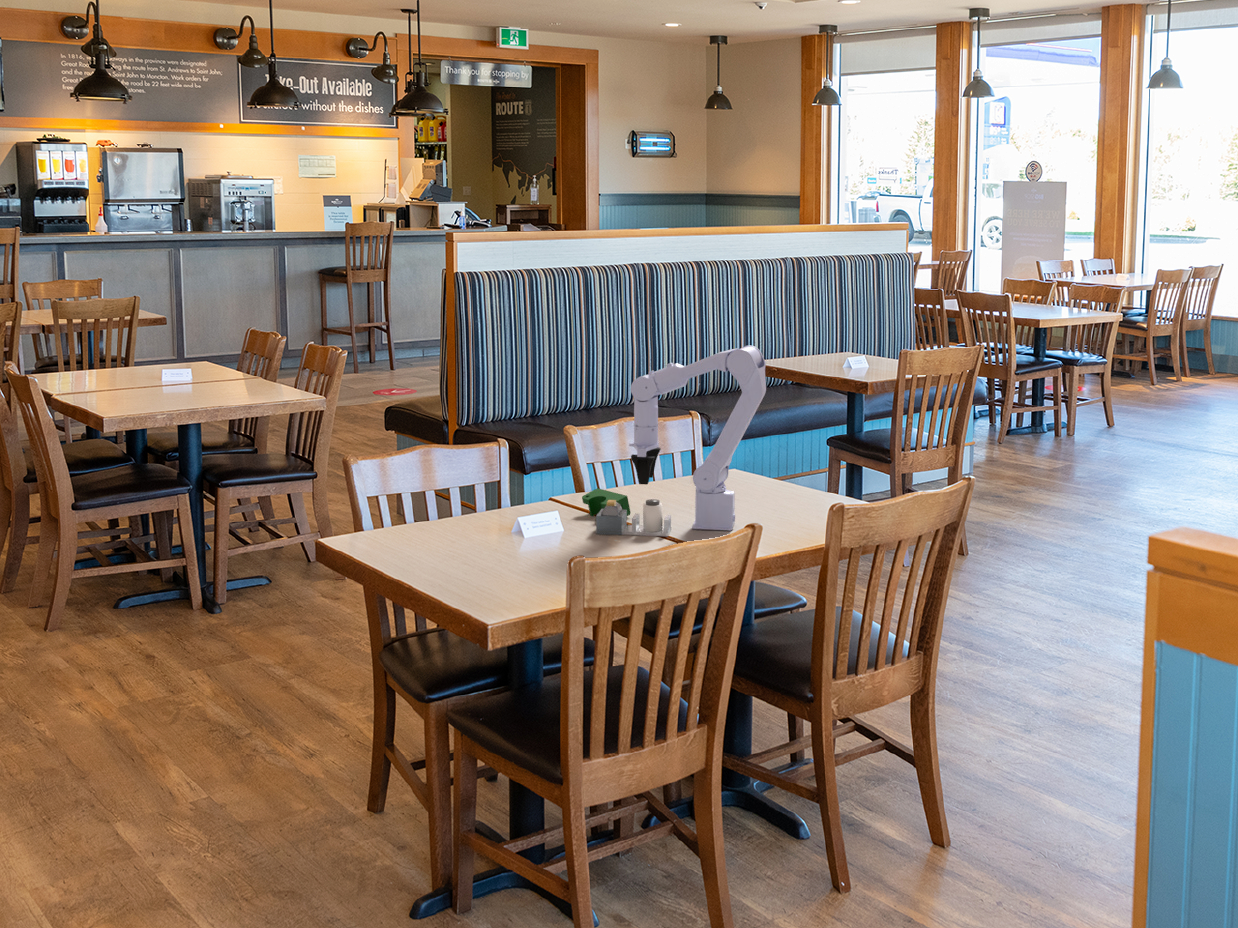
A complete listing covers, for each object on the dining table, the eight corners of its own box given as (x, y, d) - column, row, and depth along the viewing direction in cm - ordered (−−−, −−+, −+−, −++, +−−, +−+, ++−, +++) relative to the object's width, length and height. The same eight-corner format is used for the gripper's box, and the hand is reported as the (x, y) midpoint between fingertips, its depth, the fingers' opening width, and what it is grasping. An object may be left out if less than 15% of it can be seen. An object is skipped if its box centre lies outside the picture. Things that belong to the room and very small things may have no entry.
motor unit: (671, 529, 290) (671, 499, 289) (667, 537, 283) (667, 506, 282) (601, 526, 293) (601, 497, 292) (596, 534, 286) (596, 504, 285)
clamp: (591, 531, 306) (576, 498, 305) (609, 522, 309) (593, 489, 309) (617, 522, 296) (601, 489, 295) (635, 513, 299) (619, 479, 299)
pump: (650, 525, 290) (649, 497, 289) (666, 528, 288) (665, 499, 286) (639, 529, 287) (639, 501, 285) (655, 532, 284) (655, 504, 283)
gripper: (634, 419, 301) (634, 473, 304) (624, 430, 287) (624, 486, 290) (662, 420, 300) (662, 474, 303) (654, 430, 286) (654, 487, 289)
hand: (645, 480), depth 297 cm, fingers open, 7 cm apart
